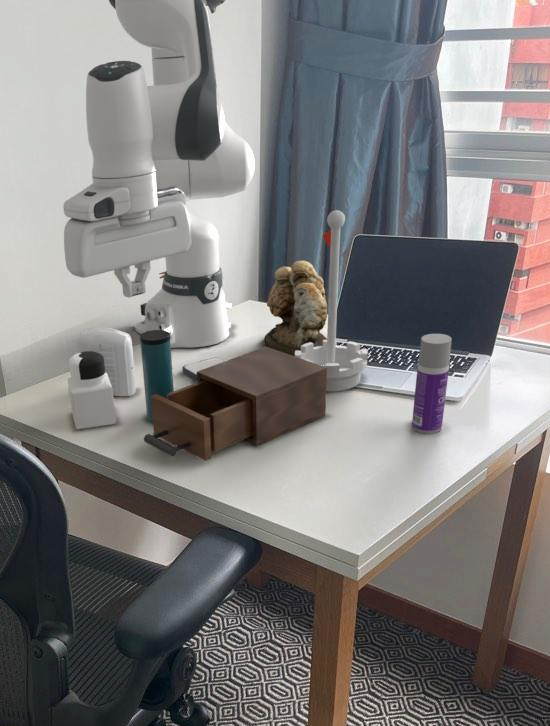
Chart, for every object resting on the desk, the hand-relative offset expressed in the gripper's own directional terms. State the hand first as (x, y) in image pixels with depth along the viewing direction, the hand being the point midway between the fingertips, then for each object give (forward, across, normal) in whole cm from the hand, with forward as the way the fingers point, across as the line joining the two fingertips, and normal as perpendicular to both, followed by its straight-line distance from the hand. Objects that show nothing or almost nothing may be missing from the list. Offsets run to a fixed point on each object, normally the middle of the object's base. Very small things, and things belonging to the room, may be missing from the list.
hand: (134, 294), depth 124 cm
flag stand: (+25, -41, +1) cm, 48 cm away
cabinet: (+25, -21, +4) cm, 33 cm away
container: (+26, -37, +26) cm, 52 cm away
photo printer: (+25, -9, -25) cm, 36 cm away
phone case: (+25, -27, -14) cm, 39 cm away
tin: (+25, -9, -9) cm, 28 cm away
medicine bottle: (+25, 0, -17) cm, 30 cm away
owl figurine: (+24, -49, -16) cm, 57 cm away
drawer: (+24, -8, +4) cm, 26 cm away
